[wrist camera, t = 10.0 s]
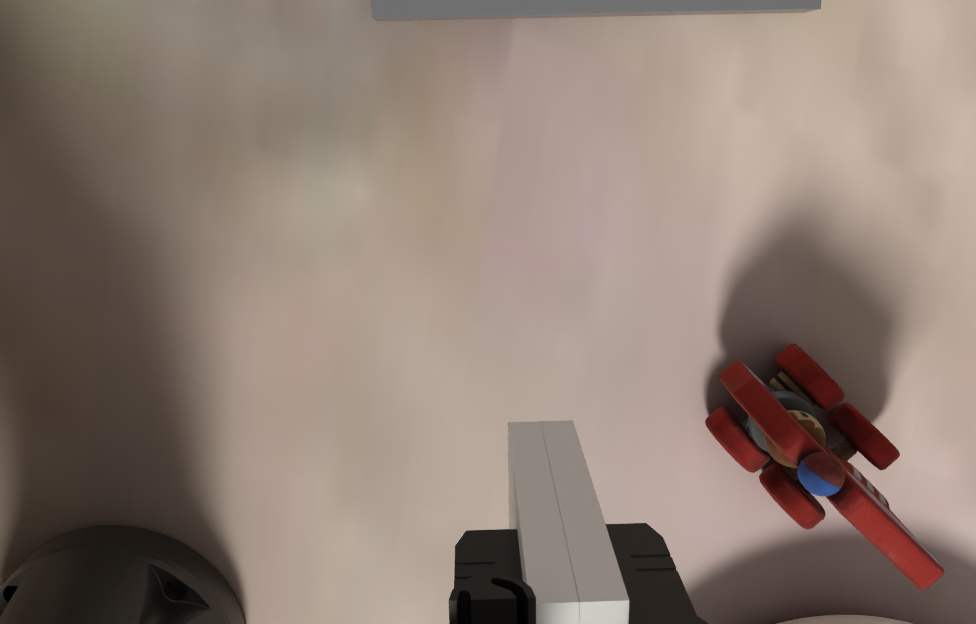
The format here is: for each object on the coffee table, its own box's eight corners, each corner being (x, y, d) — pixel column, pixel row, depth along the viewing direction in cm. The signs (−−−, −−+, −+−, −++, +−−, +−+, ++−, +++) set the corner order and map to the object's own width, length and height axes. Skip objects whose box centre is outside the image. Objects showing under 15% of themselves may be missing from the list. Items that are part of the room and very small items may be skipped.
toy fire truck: (763, 311, 45) (847, 376, 35) (892, 449, 48) (1005, 546, 38) (673, 392, 46) (729, 476, 36) (803, 522, 49) (889, 634, 39)
